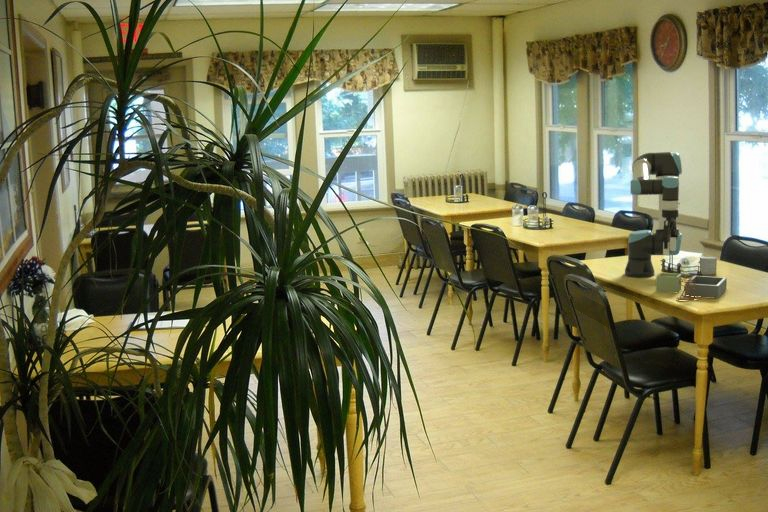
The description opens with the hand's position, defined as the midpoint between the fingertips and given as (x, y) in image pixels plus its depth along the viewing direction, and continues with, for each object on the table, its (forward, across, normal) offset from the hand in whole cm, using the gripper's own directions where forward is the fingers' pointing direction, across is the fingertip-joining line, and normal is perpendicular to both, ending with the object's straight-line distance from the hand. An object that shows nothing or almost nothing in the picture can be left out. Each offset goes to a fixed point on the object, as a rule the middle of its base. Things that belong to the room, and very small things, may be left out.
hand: (669, 253), depth 430 cm
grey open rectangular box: (+19, +1, -17) cm, 25 cm away
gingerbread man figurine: (+19, -16, -12) cm, 28 cm away
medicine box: (+19, +46, -9) cm, 50 cm away
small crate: (+19, 0, 0) cm, 19 cm away
